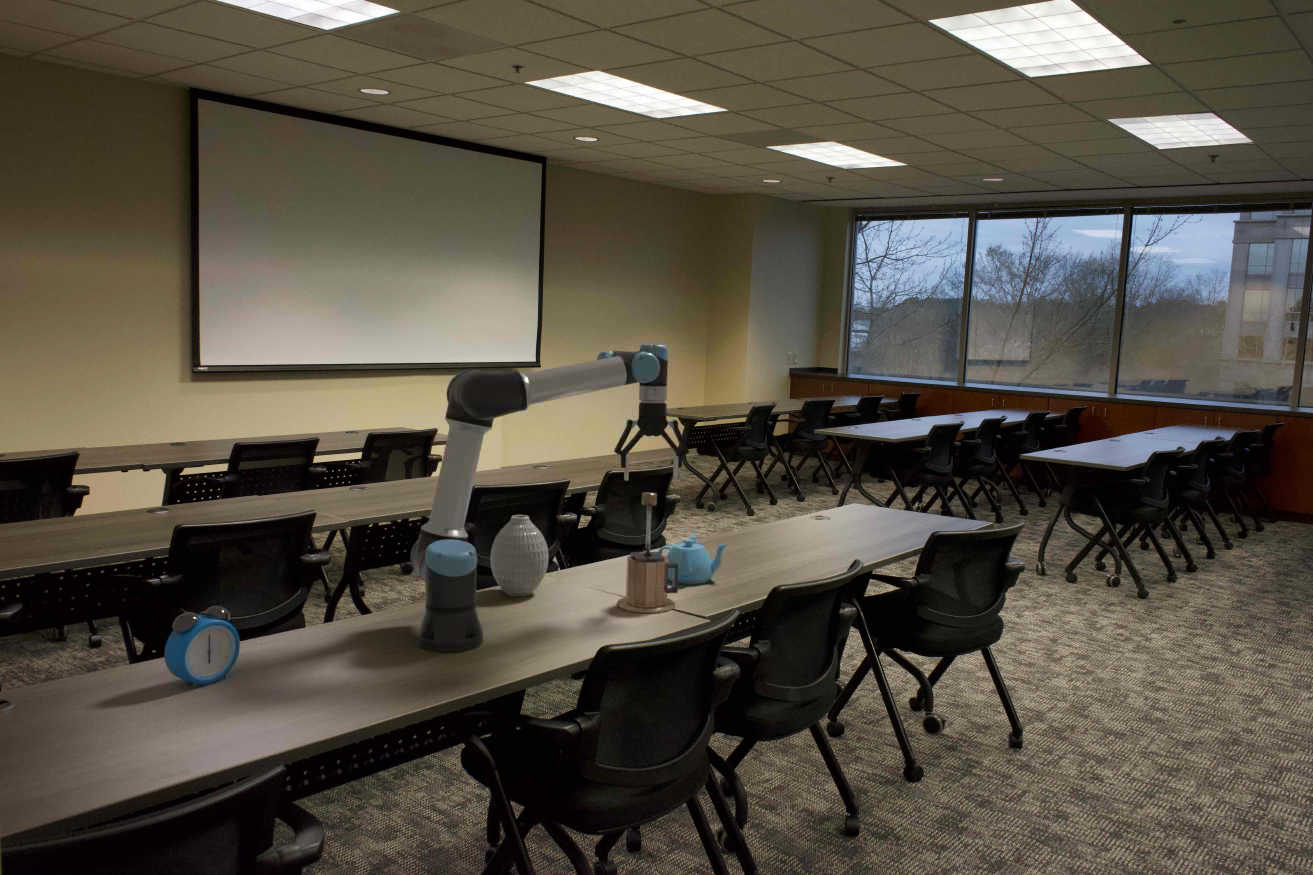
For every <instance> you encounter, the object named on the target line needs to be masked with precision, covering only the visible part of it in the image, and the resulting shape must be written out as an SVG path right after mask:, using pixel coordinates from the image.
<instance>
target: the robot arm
mask: <svg viewBox="0 0 1313 875" xmlns="http://www.w3.org/2000/svg"><path fill="white" fill-rule="evenodd" d="M639 347H640V348H639V350H638V351H628V350H627V351H626V350H603V351H601V352H599V353H598V355H597V358H596V359H595V360H590V361H585V362H580V363H574V364H568V365H564V366H559V367H554V368H553V367H552V368H548V369H543V370H542V369H541V370H537V371H531V372H528V373H527V372H526V373H522V372H521V371H519V370H515V371H508V372H507V371H506V372H495V371H492V372H491V371H484V370H481V369H474V368H473V369H472V368H471V369H466V370H464V371H461V372H459V373H457V374H455V375H454V376H453V377H452V378H451V379H450V381H449V383H448V385H447V389H446V400H447V407H446V412H445V417H444V420H445V422H446V423H447V424H448V428H449V429H448V433H447V438H446V442H445V447H444V451H443V454H442V455H443V456H442V459H441V460H442V461H441V466H440V470H439V473H438V477H437V478H438V479H437V482H436V488H435V492H434V496H433V501H432V505H431V511H430V516H429V519H428V522H426V523H424V524H423V525H421V527H420V531H419V535H418V539H417V541H415V543H414V545H413V546H412V549H411V552H410V562H411V566H412V569H413V571H414V573H415V574H416V575H417V578H419V579H420V580H422V581H423V583H424V584H425V612H424V614H423V618H422V620H421V623H420V626H419V629H418V632H417V646H418V647H419V648H421V649H423V650H426V651H429V652H438V653H456V652H462V651H463V652H464V651H468V650H472V649H475V648H477V647H479V646H481V645H482V644H483V642H484V630H483V627H482V624H481V622H480V621H481V620H480V618H479V615H478V611H477V565H478V557H477V550H476V547H475V546H474V545H473V544H471V543H470V542H468V538H469V535H468V533H467V531H466V529H465V523H466V519H467V514H468V509H469V505H470V500H471V495H472V491H473V487H474V482H475V477H476V474H477V468H478V463H479V459H480V454H481V450H482V445H483V443H484V442H483V440H484V437H485V436H484V435H485V434H487V433H488V432H489V431H491V430H492V429H493V425H494V419H496V418H499V417H504V416H507V415H510V414H511V415H512V414H515V413H519V412H522V411H526V410H528V408H529V407H530V406H532V405H535V404H539V403H546V402H550V401H554V400H559V399H565V398H568V397H569V398H571V397H573V396H579V395H583V394H588V393H592V392H599V391H601V390H606V389H612V388H617V387H621V386H622V387H623V386H628V385H633V384H639V391H638V399H639V403H638V418H637V420H636V419H635V420H633V419H630V418H627V420H626V423H625V424H626V425H625V428H624V430H623V431H622V434H621V436H620V438H619V439H618V442H617V444H616V446H615V448H614V450H613V452H614V453H615V454H616V455H619V456H620V467H621V468H622V469H623V471H624V472H623V474H624V475H623V479H624V481H627V482H628V481H629V478H630V476H629V473H630V472H629V470H630V469H629V468H630V456H629V455H628V454H629V452H631V450H632V449H633V448H634V447H635V446H636V444H637V443H638V442H639V441H640V440H641V439H642V438H643V437H644V436H645V437H659V436H661V437H662V438H663V439H664V440H665V442H666V443H667V444H668V446H669V447H670V448H671V449H672V450H673V452H674V453H675V454H676V455H673V467H672V468H673V469H672V471H673V472H672V479H673V480H674V481H678V480H679V469H681V468H682V466H683V456H684V455H687V454H689V453H690V451H689V449H688V446H687V444H686V442H685V439H684V437H683V435H682V433H681V431H680V429H679V421H678V420H676V419H672V420H668V419H667V408H668V406H667V403H666V401H667V400H668V365H669V352H668V351H669V350H668V347H667V345H665V344H647V343H646V344H641V345H640V346H639ZM636 426H637V427H638V429H639V430H638V431H637V432H636V433H635V435H634V436H633V437H632V438H631V439H630V441H629V442H628V443H627V444H626V445H625V443H626V441H627V439H628V437H629V435H630V433H631V432H632V430H633V429H634V428H635V427H636ZM668 426H669V427H670V428H671V429H672V431H673V433H674V435H675V438H676V439H677V442H678V443H679V446H680V448H681V449H680V448H679V447H678V445H677V444H676V443H675V442H674V441H673V439H672V437H671V436H670V435H669V434H668V433H667V432H666V431H665V430H666V429H667V427H668ZM624 445H625V446H624Z"/></svg>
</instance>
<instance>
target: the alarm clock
mask: <svg viewBox="0 0 1313 875" xmlns="http://www.w3.org/2000/svg"><path fill="white" fill-rule="evenodd" d="M230 619H231V614H230V612H229V611H228V610H227V609H226V608H225V607H223V605H220V606H219V605H212V606H210V607H208V608H207V609H206V610H205V611H201V612H199V615H198V614H196V613H194V612H189V611H188V612H185V613H182V614H180V615H178V616H177V617H175V620H173V623H172V629H173V630H172V632H171V633H170V635H169V637H168V638H167V640H166V643H165V648H164V654H163V655H164V662H165V665H166V667H167V669H168V671H169V672H170V673H171V674H172V675H174V677H176V678H178V679H181V680H183V681H187V682H190V683H192V684H193V686H192V689H195V688H196V687H197V685H209V684H210V685H211V684H213V683H215V682H217V681H219V680H220V679H222V678H223V679H227V678H226V675H227V674H228V673H229V672H230V671H231V670H232V668H234V667H233V666H235V664H236V662H237V660H238V657H239V654H240V649H241V648H240V647H241V642H240V636H239V634H238V631H237V630H236V628H235V627H234V626H233V625H232V624H231V623H230V622H228V621H230Z"/></svg>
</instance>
